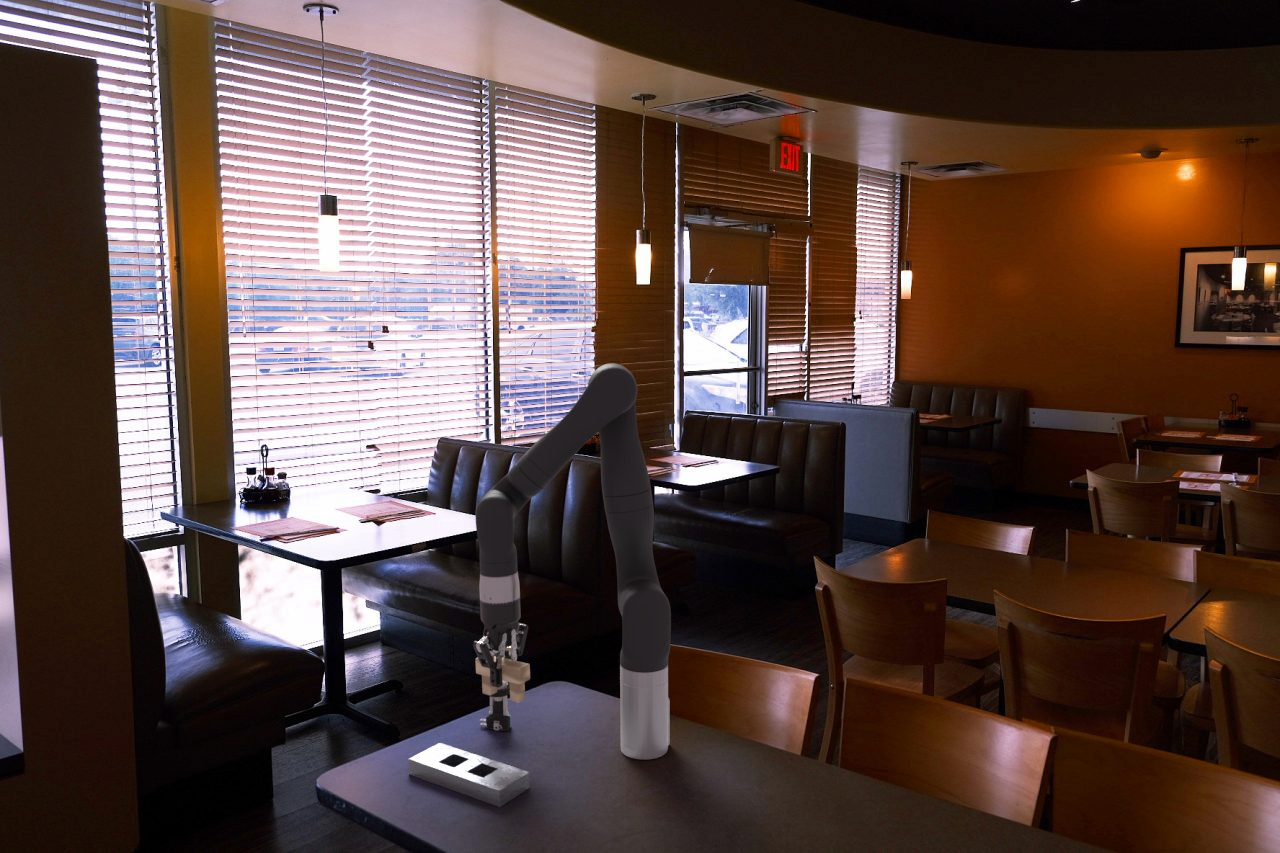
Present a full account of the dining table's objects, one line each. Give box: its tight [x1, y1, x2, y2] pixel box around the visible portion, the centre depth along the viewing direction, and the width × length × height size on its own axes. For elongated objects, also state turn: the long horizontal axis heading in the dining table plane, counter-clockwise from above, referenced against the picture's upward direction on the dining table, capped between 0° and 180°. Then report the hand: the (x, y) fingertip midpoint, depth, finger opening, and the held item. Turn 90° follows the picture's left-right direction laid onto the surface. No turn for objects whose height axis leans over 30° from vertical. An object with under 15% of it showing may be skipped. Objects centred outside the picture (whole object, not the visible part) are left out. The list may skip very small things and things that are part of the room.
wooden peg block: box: [475, 656, 531, 704], centre depth 185 cm, size 3×11×7 cm, turn 57°
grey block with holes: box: [408, 742, 530, 808], centre depth 175 cm, size 8×22×3 cm, turn 57°
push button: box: [479, 680, 512, 732], centre depth 197 cm, size 7×5×10 cm
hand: (503, 682), depth 185 cm, fingers closed on wooden peg block, 3 cm apart
